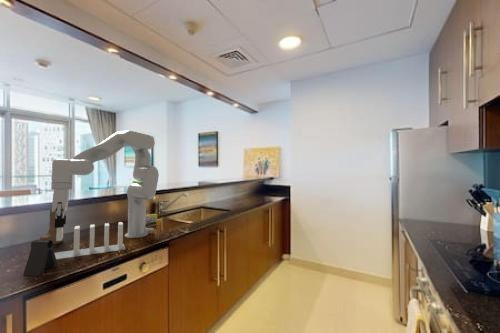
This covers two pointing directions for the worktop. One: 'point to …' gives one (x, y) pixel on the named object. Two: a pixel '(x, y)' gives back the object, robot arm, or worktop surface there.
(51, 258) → the phone stand
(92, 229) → the domino
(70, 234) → the worktop surface
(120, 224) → the domino
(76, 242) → the domino
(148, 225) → the candy box
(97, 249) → the mat
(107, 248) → the domino
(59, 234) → the domino
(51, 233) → the wooden block
